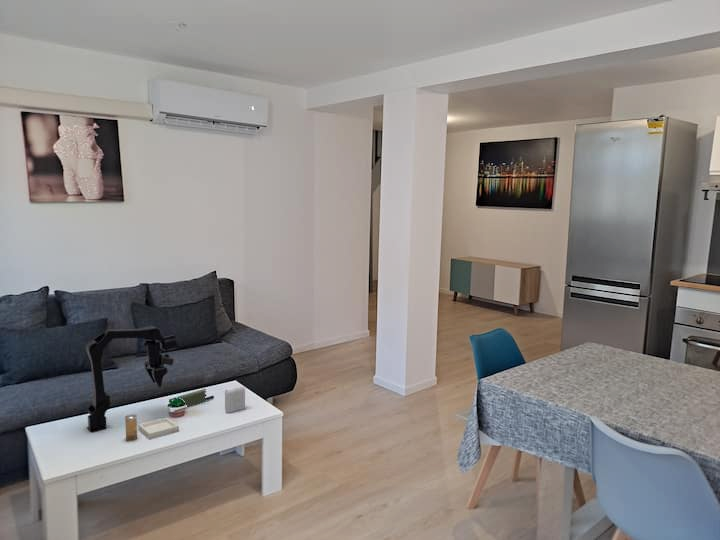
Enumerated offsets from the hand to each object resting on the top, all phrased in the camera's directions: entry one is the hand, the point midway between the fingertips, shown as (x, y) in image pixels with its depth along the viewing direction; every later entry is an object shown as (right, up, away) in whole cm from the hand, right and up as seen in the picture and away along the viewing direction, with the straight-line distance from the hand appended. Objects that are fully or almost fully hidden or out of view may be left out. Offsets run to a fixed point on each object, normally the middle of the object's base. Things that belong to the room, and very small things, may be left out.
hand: (157, 384), depth 251 cm
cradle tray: (+7, -17, -16) cm, 24 cm away
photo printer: (+35, -15, +10) cm, 39 cm away
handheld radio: (+12, -14, +16) cm, 24 cm away
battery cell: (-2, -18, -24) cm, 30 cm away
